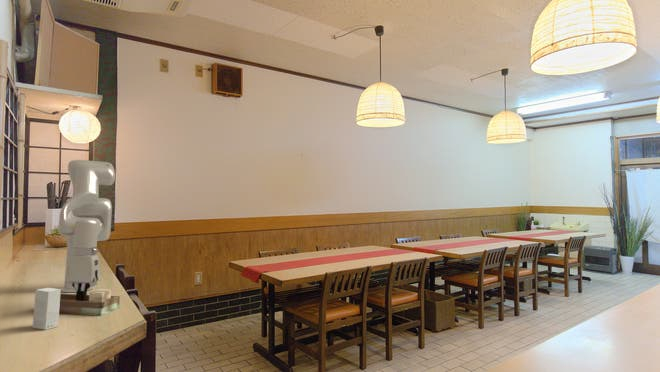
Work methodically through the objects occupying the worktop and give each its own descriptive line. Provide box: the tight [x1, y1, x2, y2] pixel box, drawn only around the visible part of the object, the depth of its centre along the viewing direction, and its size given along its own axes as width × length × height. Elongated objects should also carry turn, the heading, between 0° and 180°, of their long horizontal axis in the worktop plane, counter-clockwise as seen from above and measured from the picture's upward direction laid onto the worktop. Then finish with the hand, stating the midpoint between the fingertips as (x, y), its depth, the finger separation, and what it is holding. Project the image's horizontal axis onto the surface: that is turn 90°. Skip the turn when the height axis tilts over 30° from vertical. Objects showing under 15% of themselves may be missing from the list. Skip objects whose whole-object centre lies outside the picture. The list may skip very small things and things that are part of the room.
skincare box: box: [32, 287, 62, 331], centre depth 121 cm, size 6×4×12 cm
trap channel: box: [59, 292, 121, 317], centre depth 141 cm, size 10×25×4 cm, turn 87°
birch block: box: [88, 288, 112, 302], centre depth 141 cm, size 5×5×5 cm
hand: (80, 301), depth 141 cm, fingers closed
